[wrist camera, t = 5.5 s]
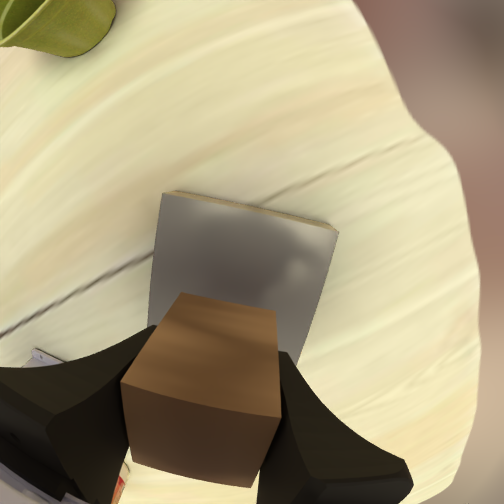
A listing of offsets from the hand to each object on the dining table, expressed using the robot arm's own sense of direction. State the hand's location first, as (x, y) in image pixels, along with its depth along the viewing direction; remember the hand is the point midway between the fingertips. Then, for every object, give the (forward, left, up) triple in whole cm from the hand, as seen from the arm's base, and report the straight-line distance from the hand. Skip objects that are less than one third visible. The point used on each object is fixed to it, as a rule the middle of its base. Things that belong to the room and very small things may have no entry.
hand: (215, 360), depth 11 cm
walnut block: (0, 0, -2) cm, 2 cm away
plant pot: (-16, +18, -9) cm, 26 cm away
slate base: (0, 0, -9) cm, 9 cm away
